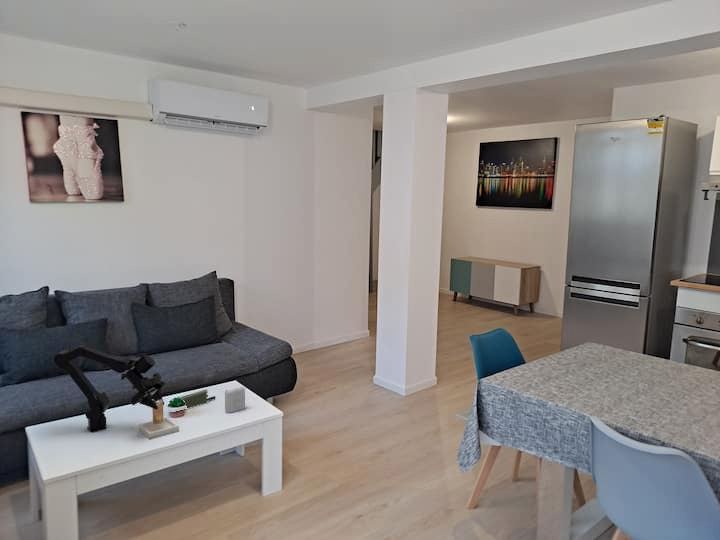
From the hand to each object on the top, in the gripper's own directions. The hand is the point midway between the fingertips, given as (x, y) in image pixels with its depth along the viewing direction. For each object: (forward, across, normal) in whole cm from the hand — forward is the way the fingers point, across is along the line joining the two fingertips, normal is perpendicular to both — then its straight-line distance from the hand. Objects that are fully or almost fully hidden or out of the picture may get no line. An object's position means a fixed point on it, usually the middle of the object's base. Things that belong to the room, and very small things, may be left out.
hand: (160, 406), depth 234 cm
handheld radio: (+7, +31, +10) cm, 33 cm away
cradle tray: (+7, 0, +9) cm, 11 cm away
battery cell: (+4, 0, +6) cm, 7 cm away
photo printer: (+22, +31, -7) cm, 39 cm away
